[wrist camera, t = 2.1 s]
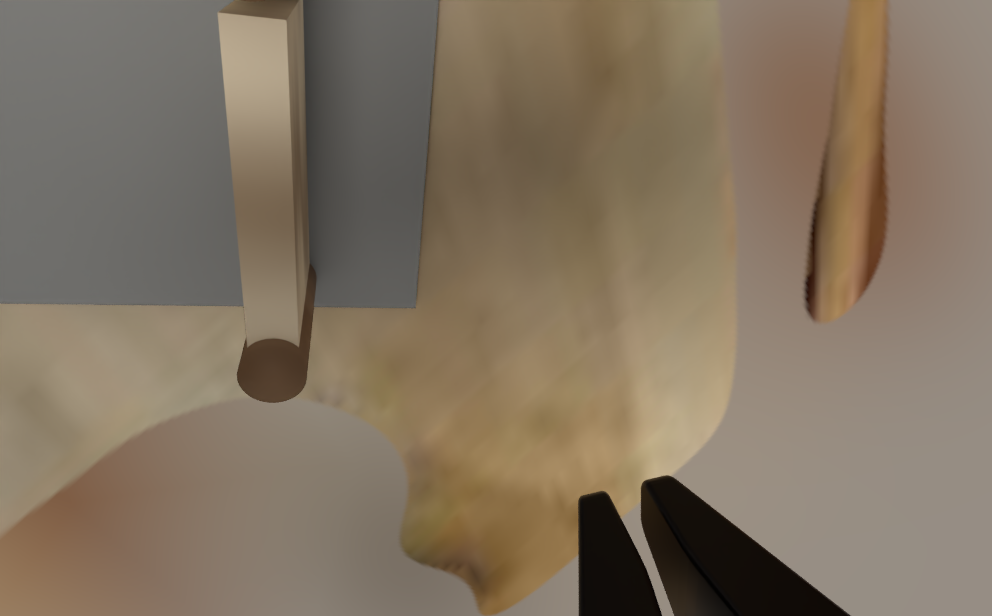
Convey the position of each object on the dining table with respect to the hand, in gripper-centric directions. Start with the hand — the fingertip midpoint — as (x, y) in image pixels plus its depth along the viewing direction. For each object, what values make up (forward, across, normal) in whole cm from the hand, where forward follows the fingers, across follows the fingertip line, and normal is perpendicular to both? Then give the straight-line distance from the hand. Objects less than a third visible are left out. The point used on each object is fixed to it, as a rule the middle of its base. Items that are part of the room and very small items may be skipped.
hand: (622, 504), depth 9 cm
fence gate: (+12, +5, -2) cm, 13 cm away
